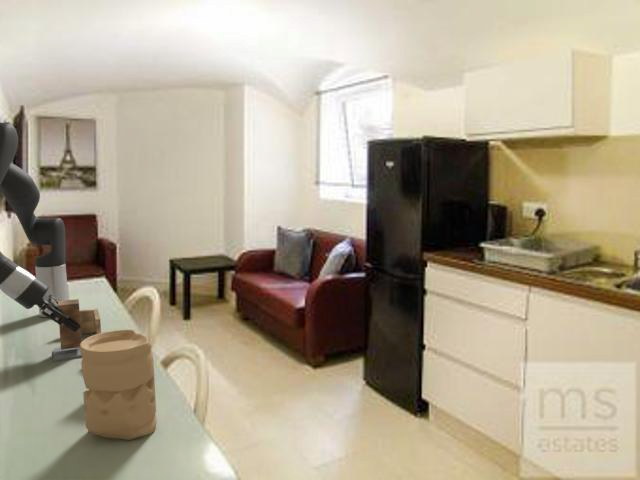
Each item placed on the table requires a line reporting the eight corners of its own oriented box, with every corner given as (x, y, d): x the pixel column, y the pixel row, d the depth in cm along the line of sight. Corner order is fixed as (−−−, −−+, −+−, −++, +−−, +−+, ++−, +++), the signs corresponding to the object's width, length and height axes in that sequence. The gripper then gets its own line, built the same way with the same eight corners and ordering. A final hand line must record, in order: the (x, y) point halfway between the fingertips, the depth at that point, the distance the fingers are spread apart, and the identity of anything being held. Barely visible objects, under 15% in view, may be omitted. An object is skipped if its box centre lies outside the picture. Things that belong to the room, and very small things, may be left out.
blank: (61, 349, 136) (57, 305, 135) (61, 344, 141) (58, 301, 139) (81, 346, 138) (79, 303, 137) (81, 341, 143) (78, 299, 141)
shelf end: (68, 347, 144) (66, 323, 143) (67, 334, 156) (66, 311, 155) (101, 342, 148) (100, 319, 147) (99, 330, 159) (97, 308, 158)
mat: (54, 350, 142) (53, 348, 142) (89, 345, 146) (89, 343, 146) (53, 361, 134) (53, 359, 134) (91, 355, 138) (91, 353, 138)
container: (141, 408, 107) (136, 325, 105) (167, 431, 98) (163, 340, 95) (77, 429, 99) (70, 338, 96) (99, 456, 90) (92, 357, 87)
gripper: (32, 281, 127) (89, 322, 134) (35, 271, 140) (87, 309, 147) (9, 305, 126) (68, 345, 132) (14, 292, 138) (67, 329, 145)
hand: (77, 325), depth 140 cm, fingers closed on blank, 5 cm apart
